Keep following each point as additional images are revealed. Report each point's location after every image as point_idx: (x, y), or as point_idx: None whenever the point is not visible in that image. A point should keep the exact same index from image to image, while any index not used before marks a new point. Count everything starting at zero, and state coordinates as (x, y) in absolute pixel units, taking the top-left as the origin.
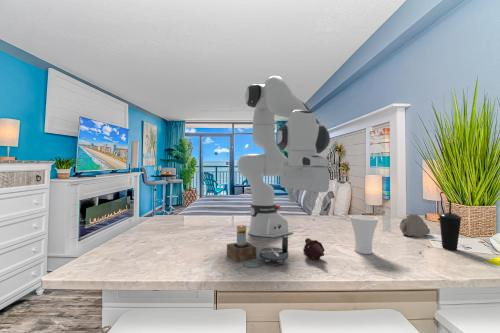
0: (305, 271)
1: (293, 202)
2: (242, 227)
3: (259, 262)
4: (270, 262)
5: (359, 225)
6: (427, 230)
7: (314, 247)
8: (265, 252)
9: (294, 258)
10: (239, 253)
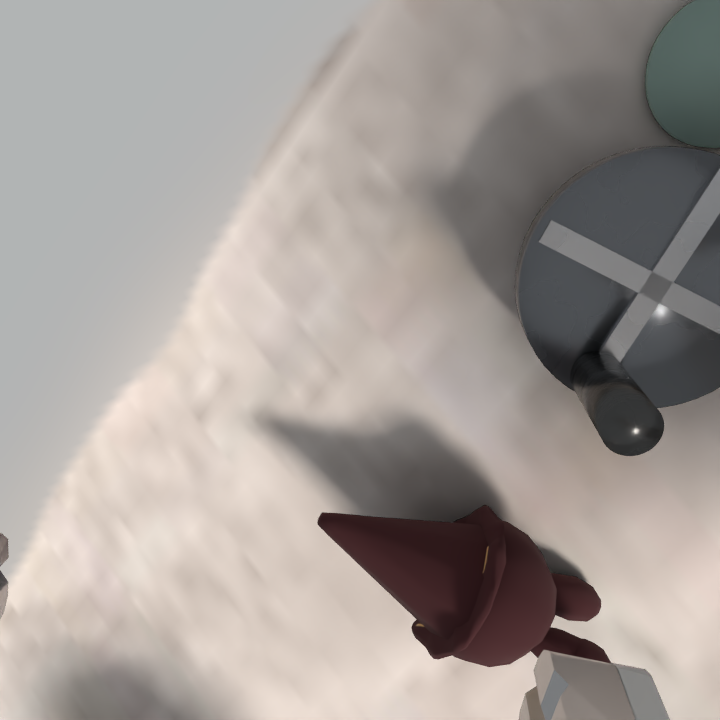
0: (348, 317)
1: (539, 682)
2: None
3: (692, 140)
4: None
5: None
6: None
7: (425, 561)
8: (696, 204)
9: (561, 445)
10: None
